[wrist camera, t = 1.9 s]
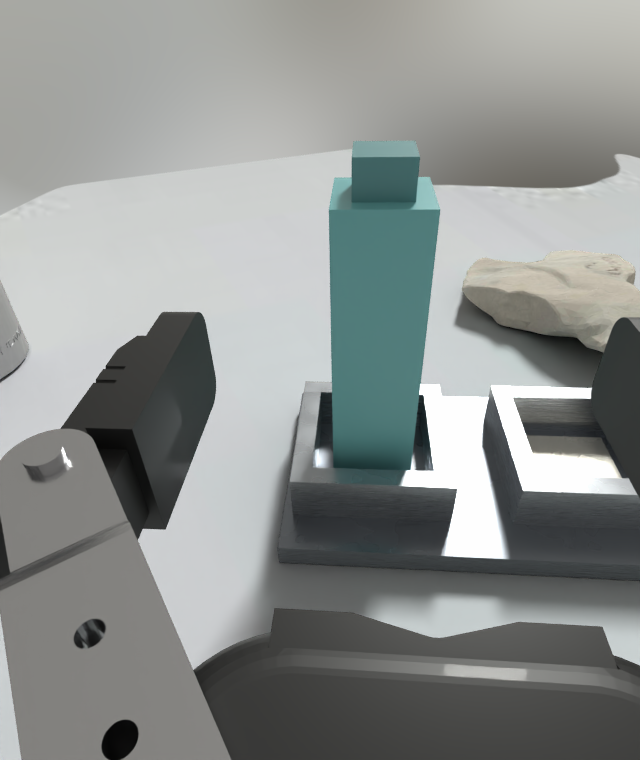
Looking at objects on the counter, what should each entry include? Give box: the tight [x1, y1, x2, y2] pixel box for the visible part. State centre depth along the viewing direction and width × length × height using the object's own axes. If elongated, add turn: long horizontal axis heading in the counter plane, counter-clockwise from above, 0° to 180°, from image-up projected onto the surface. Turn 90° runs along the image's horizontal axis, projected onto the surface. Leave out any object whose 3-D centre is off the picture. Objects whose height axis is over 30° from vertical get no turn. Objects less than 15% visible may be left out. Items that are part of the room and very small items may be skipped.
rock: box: [462, 250, 640, 353], centre depth 43 cm, size 21×5×15 cm
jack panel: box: [278, 381, 640, 581], centre depth 28 cm, size 20×12×4 cm, turn 86°
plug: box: [329, 141, 440, 471], centre depth 24 cm, size 4×4×17 cm
